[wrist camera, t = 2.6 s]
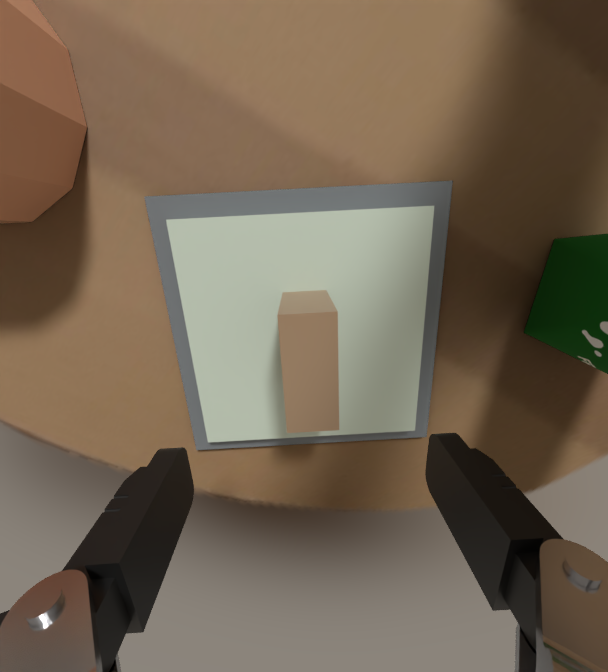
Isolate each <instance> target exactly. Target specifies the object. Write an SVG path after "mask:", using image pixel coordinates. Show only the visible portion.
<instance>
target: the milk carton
mask: <svg viewBox="0 0 608 672" xmlns="http://www.w3.org/2000/svg"><path fill="white" fill-rule="evenodd" d="M524 333H526V334H528V335H530V336H532V337H534V338H536V339H538V340H540V341H542V342H544V343H546V344H548V345H550V346H552V347H554V348H556V349H558V350H560V351H562V352H564V353H566V354H568V355H570V356H572V357H574V358H576V359H578V360H580V361H582V362H584V363H586V364H588V365H590V366H592V367H595V368H597V369H599V370H601V371H603V372H605V373H607V374H608V234H599V235H590V236H580V237H570V238H560V239H554V242H553V245H552V248H551V251H550V254H549V257H548V260H547V263H546V266H545V269H544V272H543V276H542V279H541V282H540V285H539V288H538V291H537V294H536V297H535V300H534V303H533V306H532V309H531V312H530V315H529V318H528V321H527V324H526V327H525V330H524Z"/></svg>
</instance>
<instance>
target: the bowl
mask: <svg viewBox="0 0 608 672" xmlns="http://www.w3.org/2000/svg"><path fill="white" fill-rule="evenodd" d="M86 130H87V125H86V121H85V117H84V113H83V109H82V105H81V100H80V96H79V92H78V88H77V84H76V80H75V76H74V72H73V68H72V64H71V60H70V56H69V52H68V49H67V48H66V47H65V45H64V44H63V42H62V41H61V40H60V38H59V37H58V35H57V34H56V33H55V31H54V30H53V29H52V27H51V26H50V24H49V23H48V22H47V20H46V19H45V17H44V16H43V15H42V13H41V12H40V11H39V9H38V8H37V6H36V5H35V4H34V2H33V1H32V0H0V224H1V223H20V222H33V221H34V220H35V219H36V218H37V217H39V216H40V215H41V214H42V213H43V212H45V211H46V210H47V209H48V208H49V207H51V206H52V205H53V204H54V203H55V202H57V201H58V200H59V199H60V198H61V197H63V196H64V195H65V194H66V193H67V192H69V191H70V190H71V189H72V188H73V184H74V180H75V176H76V172H77V168H78V164H79V159H80V155H81V151H82V147H83V143H84V139H85V135H86Z"/></svg>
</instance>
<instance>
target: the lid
mask: <svg viewBox="0 0 608 672" xmlns="http://www.w3.org/2000/svg"><path fill="white" fill-rule="evenodd" d="M433 216H434V206H417V207H398V208H379V209H360V210H341V211H322V212H302V213H283V214H264V215H245V216H226V217H207V218H188V219H169V220H166V223H167V228H168V233H169V239H170V244H171V249H172V255H173V260H174V265H175V271H176V276H177V281H178V286H179V292H180V297H181V302H182V308H183V313H184V318H185V323H186V329H187V334H188V339H189V345H190V350H191V355H192V361H193V366H194V371H195V376H196V382H197V387H198V392H199V398H200V403H201V408H202V414H203V419H204V424H205V429H206V435H207V440H208V442H225V441H243V440H260V439H278V438H295V437H313V436H330V435H348V434H365V433H383V432H400V431H415V424H416V413H417V401H418V390H419V378H420V366H421V355H422V343H423V332H424V320H425V309H426V297H427V286H428V274H429V263H430V251H431V239H432V228H433Z"/></svg>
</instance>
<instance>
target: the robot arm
mask: <svg viewBox="0 0 608 672" xmlns="http://www.w3.org/2000/svg"><path fill="white" fill-rule="evenodd" d="M426 481H427V485H428V488H429V491H430V493H431V495H432V497H433V499H434V501H435V503H436V504H437V506H438V508H439V510H440V512H441V514H442V516H443V518H444V519H445V521H446V523H447V525H448V527H449V529H450V531H451V533H452V535H453V536H454V538H455V540H456V542H457V544H458V546H459V548H460V550H461V551H462V553H463V555H464V557H465V559H466V561H467V563H468V565H469V566H470V568H471V570H472V572H473V574H474V576H475V578H476V579H477V581H478V583H479V585H480V587H481V589H482V591H483V593H484V595H485V596H486V598H487V600H488V602H489V604H490V606H491V608H492V610H508V609H510V610H511V611H512V613H513V615H514V616H515V618H516V620H517V622H518V624H517V627H516V646H515V647H516V648H515V649H516V650H515V672H608V562H607V561H605V560H604V559H603V558H601V557H600V556H599V555H597V554H595V553H594V552H593V551H591V550H589V549H587V548H586V547H584V546H581V545H579V544H577V543H574V542H571V541H568V540H564V539H563V538H562V537H561V536H560V535H559V534H558V532H557V531H556V530H555V529H554V528H553V527H552V526H551V525H550V523H549V522H548V521H547V520H546V519H545V518H544V517H543V516H542V514H541V513H540V512H539V511H538V510H537V509H536V508H535V507H534V505H533V504H532V503H531V502H530V501H529V500H528V499H527V498H526V496H525V495H524V494H523V493H522V492H521V491H520V490H519V489H517V488H516V485H515V484H514V483H513V482H512V481H511V480H510V478H509V477H506V475H505V473H504V472H503V471H502V469H501V468H500V467H499V466H498V465H497V464H496V463H495V462H494V460H492V459H491V458H489V457H488V456H487V455H485V454H484V453H482V452H481V451H479V450H478V449H476V448H475V449H470V448H469V447H468V446H467V444H466V443H465V442H464V441H463V440H462V438H461V437H460V436H459V435H458V434H456V433H443V434H432V435H431V436H430V438H429V445H428V454H427V463H426ZM193 495H194V485H193V479H192V475H191V470H190V465H189V460H188V455H187V451H186V449H185V448H167V449H159V450H158V451H157V452H156V454H155V455H154V457H153V458H152V460H151V461H150V463H149V465H148V466H147V467H140V468H139V469H138V470H136V471H135V472H134V473H133V474H132V475H131V476H129V477H128V478H127V479H126V480H125V481H124V482H123V484H122V485H121V487H120V488H119V489H118V491H117V492H116V494H115V495H114V499H112V500H111V501H110V502H109V504H108V505H107V507H106V508H105V512H104V513H102V514H101V516H100V517H99V518H98V520H97V521H96V523H95V524H94V526H93V527H92V529H91V530H90V532H89V533H88V534H87V536H86V537H85V539H84V540H83V541H82V543H81V545H80V546H79V547H78V549H77V550H76V552H75V553H74V554H73V556H72V557H71V559H70V560H69V562H68V563H67V565H66V566H65V567H64V569H63V570H62V571H61V572H58V573H56V574H53V575H51V576H49V577H47V578H45V579H44V580H42V581H40V582H39V583H37V584H36V585H35V586H33V587H32V588H31V589H30V590H28V591H27V592H26V593H25V594H24V595H23V596H22V597H21V598H20V599H19V600H18V601H17V602H16V603H15V604H14V605H13V606H12V608H11V609H10V610H8V611H6V612H4V613H1V614H0V672H121V669H120V662H119V657H118V651H119V648H120V646H121V643H122V641H123V639H124V636H125V634H126V633H138V632H144V629H145V626H146V623H147V621H148V618H149V616H150V613H151V610H152V608H153V605H154V603H155V600H156V597H157V595H158V592H159V589H160V587H161V584H162V581H163V579H164V576H165V574H166V571H167V568H168V566H169V563H170V560H171V558H172V555H173V553H174V550H175V547H176V545H177V542H178V539H179V537H180V534H181V531H182V528H183V526H184V524H185V521H186V518H187V516H188V513H189V510H190V508H191V505H192V501H193Z"/></svg>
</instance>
